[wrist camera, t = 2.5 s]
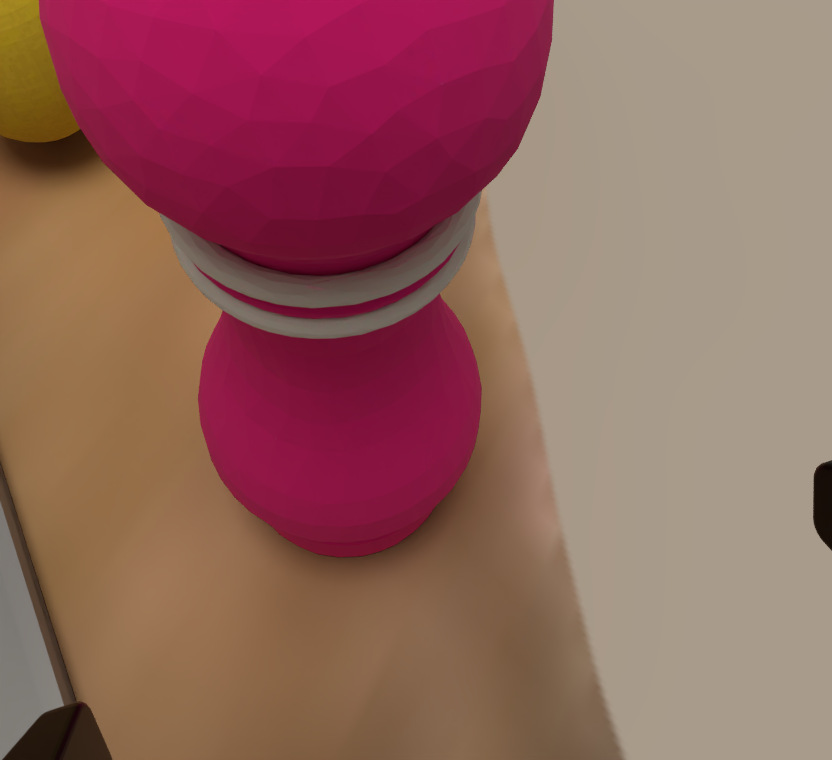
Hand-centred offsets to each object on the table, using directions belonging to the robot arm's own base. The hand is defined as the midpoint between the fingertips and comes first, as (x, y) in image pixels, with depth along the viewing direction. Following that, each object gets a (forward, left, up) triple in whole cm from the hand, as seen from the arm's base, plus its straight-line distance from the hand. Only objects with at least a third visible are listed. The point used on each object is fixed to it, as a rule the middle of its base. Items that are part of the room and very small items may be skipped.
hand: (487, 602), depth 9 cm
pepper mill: (+7, -1, -13) cm, 15 cm away
